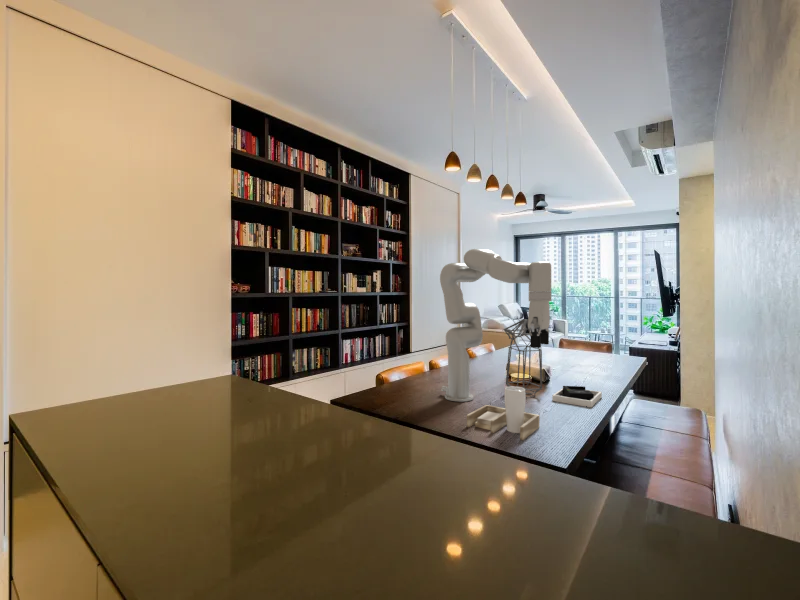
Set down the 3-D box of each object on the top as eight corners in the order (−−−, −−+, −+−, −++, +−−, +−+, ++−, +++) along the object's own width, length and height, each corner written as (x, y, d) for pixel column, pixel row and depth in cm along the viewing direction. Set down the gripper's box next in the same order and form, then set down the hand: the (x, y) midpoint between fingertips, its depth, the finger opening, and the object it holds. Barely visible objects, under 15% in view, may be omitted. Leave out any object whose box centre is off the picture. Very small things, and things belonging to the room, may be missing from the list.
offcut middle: (475, 427, 135) (475, 422, 135) (487, 419, 143) (487, 415, 143) (490, 430, 132) (490, 425, 132) (502, 422, 140) (502, 418, 140)
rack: (466, 429, 135) (466, 414, 135) (486, 417, 147) (486, 404, 147) (523, 443, 123) (523, 427, 123) (539, 429, 135) (539, 415, 134)
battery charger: (593, 403, 164) (593, 394, 164) (569, 402, 166) (569, 393, 165) (585, 395, 176) (585, 386, 176) (562, 394, 178) (562, 385, 178)
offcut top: (477, 422, 135) (477, 418, 135) (487, 415, 143) (487, 411, 143) (490, 425, 132) (490, 420, 132) (500, 418, 140) (500, 413, 140)
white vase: (526, 437, 128) (526, 391, 127) (505, 435, 129) (505, 390, 129) (524, 429, 134) (524, 386, 134) (504, 428, 136) (504, 385, 135)
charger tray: (552, 400, 169) (552, 395, 169) (564, 391, 183) (565, 386, 183) (591, 407, 159) (591, 401, 159) (601, 397, 173) (601, 391, 173)
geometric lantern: (527, 390, 187) (529, 317, 185) (549, 399, 172) (551, 320, 170) (498, 392, 182) (500, 317, 180) (518, 402, 167) (521, 321, 165)
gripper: (536, 296, 146) (536, 342, 146) (520, 297, 132) (520, 348, 133) (557, 296, 142) (557, 343, 142) (543, 297, 128) (543, 349, 128)
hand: (539, 345), depth 137 cm, fingers open, 9 cm apart
